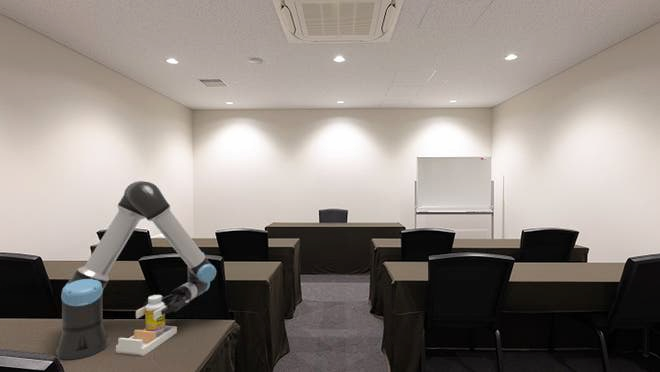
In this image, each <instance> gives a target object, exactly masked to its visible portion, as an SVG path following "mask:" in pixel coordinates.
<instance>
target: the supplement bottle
mask: <svg viewBox="0 0 660 372" xmlns="http://www.w3.org/2000/svg"><path fill="white" fill-rule="evenodd" d="M161 295H162V294H153V295H149V296H148V298H147V302H149V303H148V304H147V305H146V307H145V317H144V318H145V328H146V331H155V332H156V333H158V332H161V331H163V330H164V329H165V326H166V314H164V315H163V316H161V317H159V318H157V319H156V320H153V312H155V311H157V310H158V309H160V308H162V307H164V306H165V304H164V303H163V302H161V300H162V296H161Z"/></svg>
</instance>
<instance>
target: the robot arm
mask: <svg viewBox="0 0 660 372" xmlns="http://www.w3.org/2000/svg"><path fill="white" fill-rule="evenodd" d="M117 208H118V212H117V213H116V215H115V216H114V218H113V219H112V221H111V223H110V225H109V226H108V228H107V229H106V231H105V232H104V234H103V236H102V237H101V239H100V241H99V243H97V245H96V247H95V248H94V250H93V252H92V254H91V255H90V257H89V258H88V260H87V262H86V264H85V265H83V266H81V267H78V268H77V270H76V271H75V272H74V274H73V275H72V278H70V279H69V280H68V282H67V283H66V284H65V286H63V288H62V290H61V294H60V295H61V296H60V298H61V309H62V310H61V316H62V317H61V318H62V319H61V322H62V332H61V334H60V338H59V343H58V344H57V347H56V351H55V353H56V355H55V356H56V357H57V359H61V360H76V359H77V360H78V359H82V358H87V357H89V356H92V355H94V354H98V353H100V352H101V351H103V350H105V349H106V348H107V347H108V346H109V334H107V330H106V328H105V326H104V324H103V291H104V289H105V287H106V285H107V284H108V282H109V281H110V278H109V272H110V270H111V269H112V268H113V266H114V264H115V263H116V260H117V259H118V258H119V256H120V254H121V253H122V251H123V249H124V248H125V246H126V245H127V242H128V240H129V239H130V238H131V236H132V235H133V232H134V231H135V229H136V227H137V226H138V224H139V222H140V221H141V220H144V219H146V220H147V221H149V222H153V224H154V225H155V226H156V228H157V229H158V230H159V231H160V233H161V234H162V235H163V237H164V238H165V239H166V241H167V242H168V243H169V244H170V245H171V247H172V249H174V251H176V253H177V254H178V255H179V257H180V258H181V259H182V260H183V261H184V262H185V263H184V264H186V265H187V282H186V283H183V284H182V285H180V286H178V287H176V288H174V289H173V290H172V292H171V293H170V294H167V295H166V296H163V295H162V294H160V295H161V296H162V300H161V302H163V303H164V304H165V306H164V307H162V308H160V309H158V310H157V311H155V312H153V320H156V319H157V318H159V317H161V316H163V315H164V314H165V315H166V314H168V313H171V312H173V313H176V312H177V311H179V310H181V309H182V308H183V307H184V306H186V305H189V304H190V301H192V300H194V299H195V298H197V297H199V296H200V295H203V294H204V293H205V292H207V291H208V290H209V289H210V285H211V282H212V281H213V280H215V277H216V276H217V269H216V267H215V266H214V265H213V264H212V263H211V262H210V261H209V260H208V259H207V257H206V255H205V252H203V251H201V249H200V248H199V246H198V245H197V244H196V243H195V241H194V240H193V239H192V237H191V236H190V234H189V233H188V232H187V231H186V230H185V228H184V227H183V225H182V224H181V222H179V220H178V218H177V217H176V216H175V215H174V213H172V211H171V210H170V209H171V205H170V204H169V203H168V201H167V199H166V198H165V195H163V193H162V192H161V189H160V188H159V187H158V186H157V185H156V184H154V183H152V182H149V181H143V180H139V181H135V182H133V183H130V184H129V185H127V186H126V188H125V189H124V193H123V195H122V197H121V199H120V201H119V202H118V204H117ZM148 303H149V302H148V301H146V302H143V307H141V308H138V309H137V310H135V318H136V319H139V318H141V317H143V316H144V315H145V307H146V305H147V304H148Z"/></svg>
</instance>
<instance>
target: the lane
mask: <svg viewBox="0 0 660 372" xmlns="http://www.w3.org/2000/svg"><path fill="white" fill-rule="evenodd" d="M177 328H178V327H177V326H175V325H174V326H173V325H165V329H164V330H163V331H161V332H158V333H156V339H155V340H153V341H152V342H150V343H143V340H139V339H134V334H133V335H132V336H130V337H129V338H127V337H119V338H118V341H117V342H118V343H117V344H116V345H115V353H116V354H124V355H133V356H141V357H143V356H146V355H147V354H149V353H150V352H151V351H153V350H154V349H157V347H159V346H160V345H161V344H163V343H164V342H166V341H168V340H169V339H170V338H171V337H173V336H175V335H176V334H177V333H178V329H177ZM142 330H145V331H146V327H145V328H143V329H142Z"/></svg>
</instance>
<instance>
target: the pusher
mask: <svg viewBox="0 0 660 372" xmlns="http://www.w3.org/2000/svg"><path fill="white" fill-rule="evenodd" d="M133 335H134V339H139V340H143V343H150V342H152V341H153V340H155V339H156V332H155V331H145V330H143V329H135V330H133Z"/></svg>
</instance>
